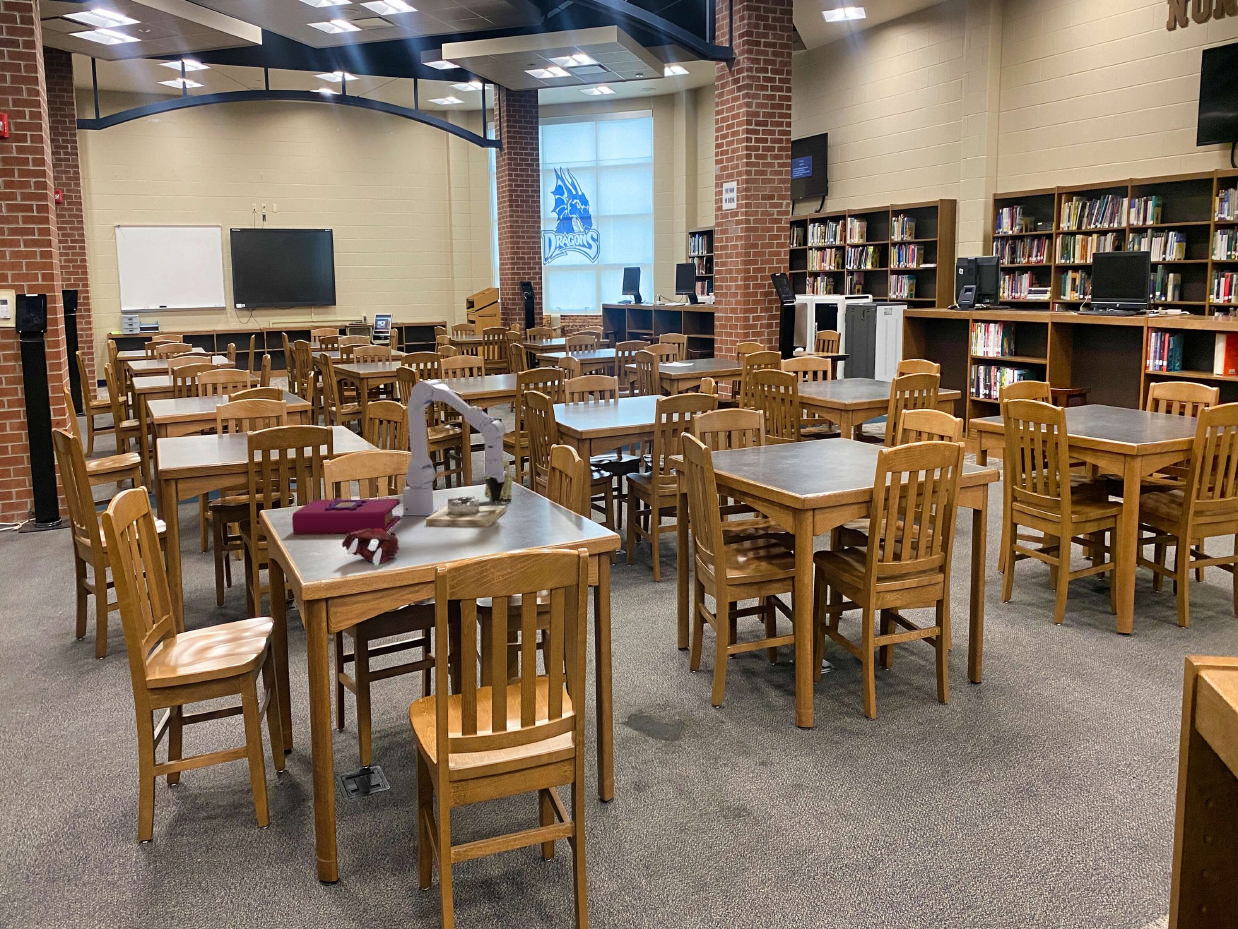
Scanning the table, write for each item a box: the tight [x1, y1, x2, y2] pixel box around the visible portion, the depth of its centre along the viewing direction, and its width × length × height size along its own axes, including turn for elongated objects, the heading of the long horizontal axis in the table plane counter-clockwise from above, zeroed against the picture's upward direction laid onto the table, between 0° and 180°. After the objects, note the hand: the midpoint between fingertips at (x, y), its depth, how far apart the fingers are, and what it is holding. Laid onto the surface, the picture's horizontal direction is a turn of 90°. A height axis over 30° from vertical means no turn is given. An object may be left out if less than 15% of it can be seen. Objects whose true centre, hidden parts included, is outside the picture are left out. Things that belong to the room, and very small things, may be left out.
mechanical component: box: [484, 459, 514, 506], centre depth 338 cm, size 8×17×20 cm, turn 175°
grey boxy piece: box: [447, 494, 498, 515], centre depth 312 cm, size 16×10×6 cm, turn 111°
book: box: [291, 498, 402, 535], centre depth 302 cm, size 21×28×8 cm
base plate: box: [425, 504, 507, 527], centre depth 312 cm, size 20×21×2 cm
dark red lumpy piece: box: [341, 528, 400, 566], centre depth 262 cm, size 15×13×9 cm
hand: (495, 500), depth 312 cm, fingers closed
